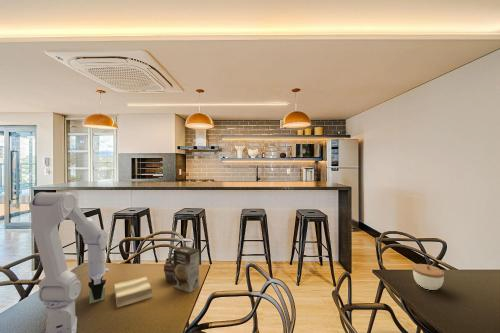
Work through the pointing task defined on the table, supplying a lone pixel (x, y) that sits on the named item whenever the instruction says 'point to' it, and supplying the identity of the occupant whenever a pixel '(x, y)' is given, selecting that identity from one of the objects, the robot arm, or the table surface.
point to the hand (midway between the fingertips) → (97, 294)
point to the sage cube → (98, 299)
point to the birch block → (132, 291)
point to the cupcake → (169, 269)
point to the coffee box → (186, 268)
